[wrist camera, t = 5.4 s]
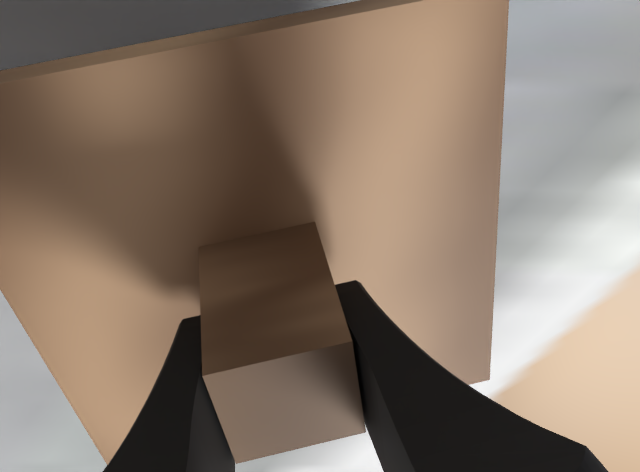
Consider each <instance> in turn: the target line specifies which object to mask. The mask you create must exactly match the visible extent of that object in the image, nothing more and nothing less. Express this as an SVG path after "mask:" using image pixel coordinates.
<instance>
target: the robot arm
mask: <svg viewBox="0 0 640 472" xmlns="http://www.w3.org/2000/svg"><path fill="white" fill-rule="evenodd" d="M335 287H336V291H337V294H338V297H339V300H340V303H341V307H342V310H343V313H344V316H345V319H346V323H347V326H348V329H349V332H350V335H351V339H352V342H353V349H354V356H355V362H356V369H357V376H358V383H359V389H360V396H361V403H362V409H363V416H364V422H365V425H366V427H367V430H368V432H369V435H370V437H371V440H372V442H373V445H374V448H375V450H376V453H377V455H378V458H379V460H380V463H381V466H382V468H383V471H384V472H608V471H607V470H606V469H605V467H604V466H603V465H602V464H601V462H600V461H599V460H598V459H597V458H596V457H595V456H594V455H593V453H592V452H591V451H590V450H589V449H588V448H587V447H586V446H584V445H582V444H580V443H577V442H575V441H573V440H570V439H568V438H566V437H563V436H561V435H559V434H556V433H554V432H552V431H549V430H547V429H545V428H542V427H540V426H538V425H536V424H534V423H532V422H530V421H528V420H526V419H524V418H522V417H520V416H518V415H516V414H515V413H513V412H511V411H510V410H508V409H506V408H505V407H503V406H501V405H500V404H498V403H496V402H494V401H493V400H491V399H489V398H488V397H486V396H484V395H482V394H481V393H479V392H478V391H476V390H475V389H473V388H472V387H470V386H469V385H468V384H466V383H465V382H463V381H462V380H460V379H459V378H458V377H456V376H455V375H453V374H452V373H451V372H449V371H448V370H447V369H445V368H444V367H443V366H442V365H440V364H439V363H438V362H437V361H435V360H434V359H433V358H432V357H430V356H429V355H428V354H427V353H426V352H425V351H424V350H422V349H421V348H420V347H419V346H418V345H417V344H416V343H415V342H413V341H412V340H411V339H410V338H409V337H408V336H407V335H406V334H405V333H404V332H403V331H402V330H401V329H400V328H399V327H398V326H397V325H396V324H395V323H394V322H393V321H392V320H391V319H390V318H389V317H388V316H387V315H386V314H385V312H384V311H383V310H382V309H381V308H380V307H379V306H378V305H377V303H376V302H375V301H374V300H373V299H372V297H371V296H370V295H369V294H368V292H367V291H366V290H365V288H364V287H363V285H362V284H361V283H360V282H358V281H357V280H353V281H349V282H345V283H340V284H336V285H335ZM103 472H235V460H234V457H233V455H232V452H231V450H230V447H229V444H228V442H227V439H226V437H225V434H224V431H223V429H222V426H221V424H220V421H219V418H218V416H217V413H216V411H215V408H214V405H213V403H212V400H211V398H210V395H209V392H208V390H207V387H206V385H205V382H204V379H203V377H202V349H201V315H199V316H194V317H190V318H185V319H183V320H182V321H181V322H180V324H179V326H178V329H177V332H176V335H175V337H174V340H173V343H172V345H171V348H170V350H169V353H168V355H167V357H166V360H165V362H164V364H163V367H162V369H161V371H160V373H159V375H158V377H157V380H156V382H155V384H154V386H153V388H152V390H151V392H150V394H149V396H148V398H147V400H146V402H145V404H144V406H143V407H142V409H141V411H140V413H139V415H138V417H137V418H136V420H135V422H134V424H133V426H132V427H131V429H130V431H129V432H128V434H127V436H126V438H125V439H124V441H123V442H122V444H121V446H120V447H119V449H118V450H117V452H116V453H115V455H114V456H113V458H112V459H111V461H110V462H109V464H108V465H107V467H106V468H105V469H104V471H103Z"/></svg>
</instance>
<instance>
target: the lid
mask: <svg viewBox="0 0 640 472" xmlns="http://www.w3.org/2000/svg"><path fill="white" fill-rule="evenodd" d="M508 9H509V0H360V1H355V2H350V3H345V4H340V5H334V6H329V7H324V8H319V9H314V10H309V11H304V12H298V13H293V14H288V15H283V16H278V17H273V18H268V19H263V20H257V21H252V22H247V23H242V24H237V25H232V26H227V27H221V28H216V29H211V30H206V31H201V32H196V33H191V34H185V35H180V36H175V37H170V38H165V39H160V40H155V41H149V42H144V43H139V44H134V45H129V46H124V47H119V48H114V49H108V50H103V51H98V52H93V53H88V54H83V55H78V56H72V57H67V58H62V59H57V60H52V61H47V62H42V63H36V64H31V65H26V66H21V67H16V68H11V69H6V70H0V290H1V291H2V293H3V295H4V296H5V298H6V300H7V301H8V303H9V304H10V306H11V308H12V309H13V311H14V313H15V314H16V316H17V318H18V319H19V321H20V322H21V324H22V326H23V327H24V329H25V331H26V332H27V334H28V336H29V337H30V339H31V340H32V342H33V344H34V345H35V347H36V349H37V350H38V352H39V354H40V355H41V357H42V359H43V360H44V362H45V363H46V365H47V367H48V368H49V370H50V372H51V373H52V375H53V377H54V378H55V380H56V381H57V383H58V385H59V386H60V388H61V390H62V391H63V393H64V395H65V396H66V398H67V399H68V401H69V403H70V404H71V406H72V408H73V409H74V411H75V413H76V414H77V416H78V417H79V419H80V421H81V422H82V424H83V426H84V427H85V429H86V431H87V432H88V434H89V436H90V437H91V439H92V440H93V442H94V444H95V445H96V447H97V449H98V450H99V452H100V454H101V455H102V457H103V458H104V460H105V462H106V463H107V465H108V464H109V462H110V461H111V459H112V458H113V456H114V455H115V453H116V452H117V450H118V449H119V447H120V446H121V444H122V442H123V441H124V439H125V438H126V436H127V434H128V432H129V431H130V429H131V427H132V426H133V424H134V422H135V420H136V418H137V417H138V415H139V413H140V411H141V409H142V407H143V406H144V404H145V402H146V400H147V398H148V396H149V394H150V392H151V390H152V388H153V386H154V384H155V382H156V380H157V377H158V375H159V373H160V371H161V369H162V367H163V364H164V362H165V360H166V357H167V355H168V353H169V350H170V348H171V345H172V343H173V340H174V337H175V335H176V332H177V329H178V326H179V324H180V322H181V321H182V320H183V319H185V318H190V317H194V316H199V315H201V349H202V377H203V379H204V382H205V385H206V387H207V390H208V392H209V395H210V398H211V400H212V403H213V405H214V408H215V411H216V413H217V416H218V418H219V421H220V424H221V426H222V429H223V431H224V434H225V437H226V439H227V442H228V444H229V447H230V450H231V452H232V455H233V457H234V460H235V463H236V464H237V463H241V462H245V461H249V460H254V459H258V458H262V457H266V456H270V455H274V454H278V453H282V452H286V451H291V450H295V449H299V448H303V447H307V446H311V445H315V444H319V443H323V442H328V441H332V440H336V439H340V438H344V437H348V436H352V435H356V434H360V433H365V432H366V429H365V423H364V416H363V409H362V403H361V396H360V389H359V383H358V376H357V369H356V362H355V356H354V349H353V342H352V339H351V335H350V332H349V329H348V326H347V323H346V319H345V316H344V313H343V310H342V307H341V303H340V300H339V297H338V294H337V291H336V287H335V285H336V284H340V283H345V282H349V281H353V280H357V281H358V282H360V283H361V284H362V285H363V287H364V288H365V290H366V291H367V292H368V294H369V295H370V296H371V297H372V299H373V300H374V301H375V302H376V303H377V305H378V306H379V307H380V308H381V309H382V310H383V311H384V312H385V314H386V315H387V316H388V317H389V318H390V319H391V320H392V321H393V322H394V323H395V324H396V325H397V326H398V327H399V328H400V329H401V330H402V331H403V332H404V333H405V334H406V335H407V336H408V337H409V338H410V339H411V340H412V341H413V342H415V343H416V344H417V345H418V346H419V347H420V348H421V349H422V350H424V351H425V352H426V353H427V354H428V355H429V356H430V357H432V358H433V359H434V360H435V361H437V362H438V363H439V364H440V365H442V366H443V367H444V368H445V369H447V370H448V371H449V372H451V373H452V374H453V375H455V376H456V377H458V378H459V379H460V380H462V381H463V382H465V383H466V384H468V385H469V384H473V383H478V382H482V381H486V380H490V361H491V341H492V322H493V302H494V283H495V263H496V244H497V224H498V204H499V185H500V165H501V146H502V126H503V107H504V87H505V68H506V48H507V28H508Z"/></svg>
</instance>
